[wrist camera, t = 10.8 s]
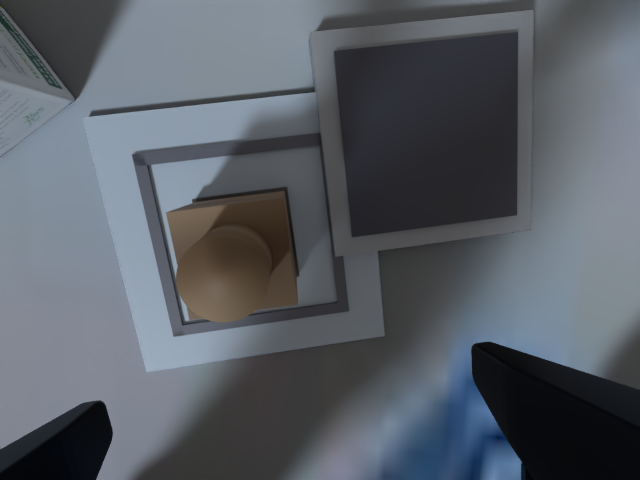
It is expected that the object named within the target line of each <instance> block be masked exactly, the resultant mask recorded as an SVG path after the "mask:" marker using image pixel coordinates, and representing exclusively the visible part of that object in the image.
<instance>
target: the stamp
mask: <svg viewBox="0 0 640 480" xmlns="http://www.w3.org/2000/svg"><path fill="white" fill-rule="evenodd" d="M166 215H167V220H168V224H169V229H170V234H171V238H172V243H173V247H174V252H175V257H176V261H177V266H178V267H177V272H176V284H177V289H178V292H179V294H180V297H181V298H182V300H183V302H184V303H185V304H186V307H187V311H188V316H189V320H196V319H202V318H204V319H207V320H210V321H213V322H223V323H226V322H234V321H238V320H241V319H243V318H245V317H247V316H249V315H250V314H252V313H253V312H254V311H257V310H264V309H271V308H278V307H284V306H291V305H298V296H297V277H299V268H298V261H297V253H296V246H295V239H294V232H293V225H292V218H291V211H290V203H289V196H288V189H287V187H279V188H271V189H263V190H255V191H247V192H240V193H232V194H224V195H216V196H208V197H200V198H195V199H192V203H191V204H188V205H186V206H183V207H180V208H177V209H174V210H172V211H169V212H166Z"/></svg>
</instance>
